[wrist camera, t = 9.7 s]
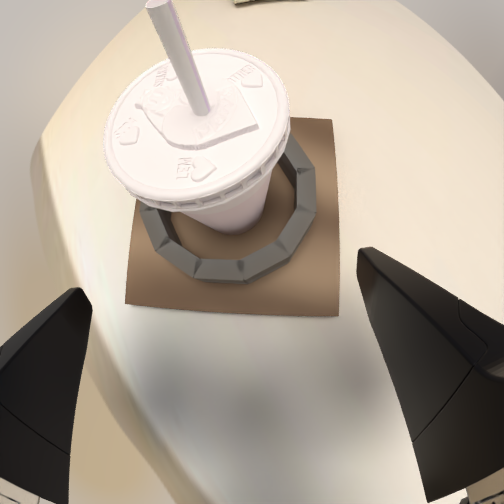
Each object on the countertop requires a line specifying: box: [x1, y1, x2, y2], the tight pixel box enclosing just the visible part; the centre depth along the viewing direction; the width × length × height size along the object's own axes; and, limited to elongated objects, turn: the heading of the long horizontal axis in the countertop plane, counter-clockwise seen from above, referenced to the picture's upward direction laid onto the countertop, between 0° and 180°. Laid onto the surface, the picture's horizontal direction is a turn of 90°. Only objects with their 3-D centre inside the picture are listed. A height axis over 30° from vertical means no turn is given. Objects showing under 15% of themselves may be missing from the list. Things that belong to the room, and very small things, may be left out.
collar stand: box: [125, 117, 340, 316], centre depth 17 cm, size 13×13×4 cm
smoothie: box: [103, 0, 290, 235], centre depth 11 cm, size 6×6×14 cm
